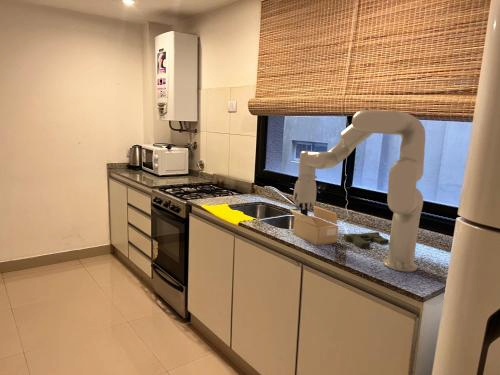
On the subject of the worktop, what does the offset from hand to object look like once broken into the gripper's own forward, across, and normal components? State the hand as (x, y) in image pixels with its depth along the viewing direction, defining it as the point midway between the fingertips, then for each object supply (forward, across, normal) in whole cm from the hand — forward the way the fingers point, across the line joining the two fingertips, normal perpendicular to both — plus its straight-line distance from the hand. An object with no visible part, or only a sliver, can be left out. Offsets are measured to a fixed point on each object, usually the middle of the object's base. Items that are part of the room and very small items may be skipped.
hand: (303, 217), depth 170 cm
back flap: (0, -12, 0) cm, 12 cm away
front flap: (0, 0, 0) cm, 0 cm away
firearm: (+12, -30, +11) cm, 35 cm away
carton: (+11, -7, 0) cm, 13 cm away
